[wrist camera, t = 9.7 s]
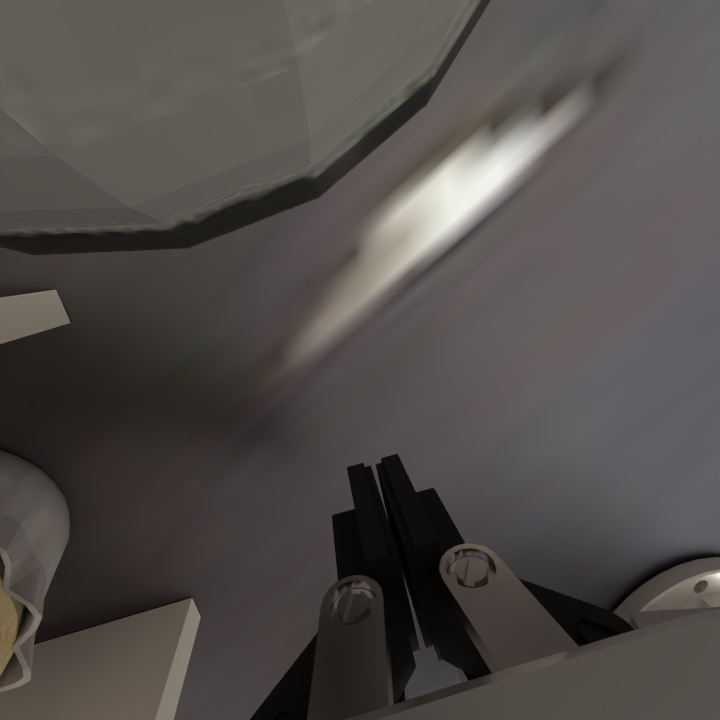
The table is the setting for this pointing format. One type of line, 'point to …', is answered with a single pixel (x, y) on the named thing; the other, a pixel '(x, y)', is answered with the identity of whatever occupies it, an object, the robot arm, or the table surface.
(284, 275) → the table surface
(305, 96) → the beverage cup
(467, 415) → the table surface
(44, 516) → the cupcake
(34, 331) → the box
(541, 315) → the table surface
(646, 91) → the table surface
